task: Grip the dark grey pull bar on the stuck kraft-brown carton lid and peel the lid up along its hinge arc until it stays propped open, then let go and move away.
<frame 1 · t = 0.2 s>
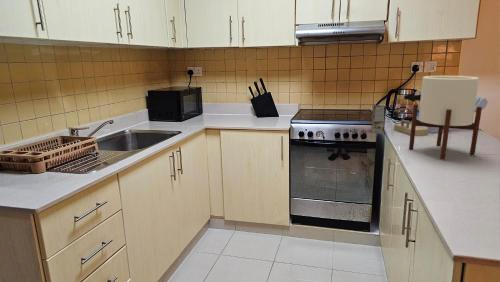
hand: (408, 97, 202), 21 cm above the worktop, tool horizontal, fingers open, 7 cm apart
carton lid: (411, 123, 206), point 5 cm above the worktop, hinge at 0.0°
plant pot with stand: (440, 152, 166), on the worktop
tan tray: (410, 132, 208), on the worktop
coffee box: (377, 132, 210), on the worktop
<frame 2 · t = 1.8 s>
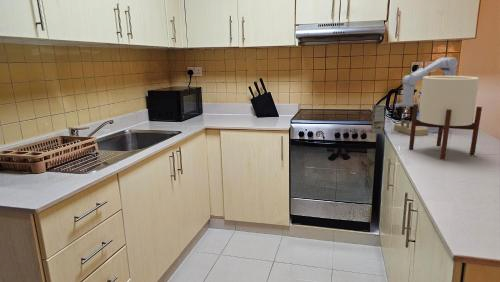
hand: (405, 118, 205), 9 cm above the worktop, tool pointing down, fingers open, 7 cm apart
nothing on the worktop moved.
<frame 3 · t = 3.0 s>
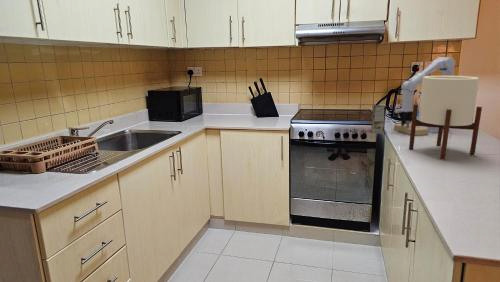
hand: (405, 124, 206), 5 cm above the worktop, tool pointing down, fingers closed on carton lid, 2 cm apart
carton lid: (411, 123, 206), point 5 cm above the worktop, hinge at 0.0°, touching gripper
everything else where it was.
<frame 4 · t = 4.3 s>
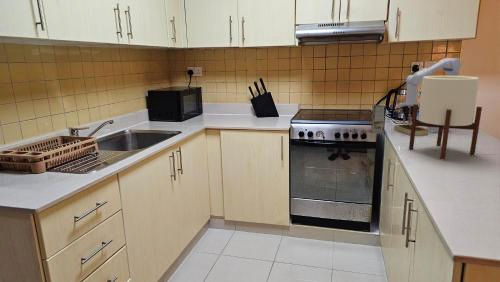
hand: (409, 118, 205), 9 cm above the worktop, tool pointing down, fingers open, 3 cm apart
carton lid: (412, 121, 206), point 7 cm above the worktop, hinge at 16.7°, touching gripper
everything else where it was.
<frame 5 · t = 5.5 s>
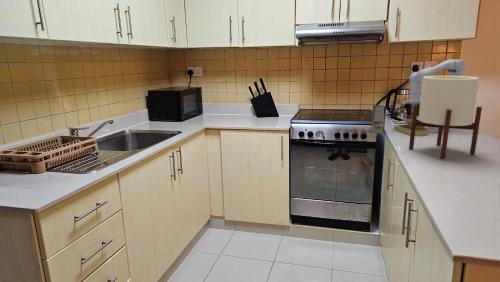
hand: (412, 115, 205), 10 cm above the worktop, tool pointing down, fingers open, 5 cm apart
carton lid: (414, 119, 206), point 8 cm above the worktop, hinge at 30.6°
everything else where it was.
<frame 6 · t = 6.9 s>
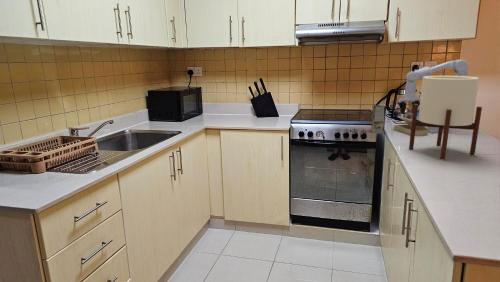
hand: (408, 113, 213), 10 cm above the worktop, tool pointing down, fingers open, 7 cm apart
carton lid: (414, 119, 206), point 8 cm above the worktop, hinge at 31.7°
everything else where it was.
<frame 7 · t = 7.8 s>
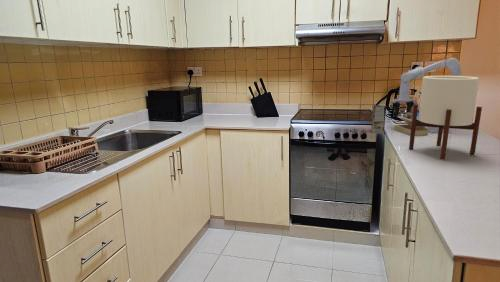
hand: (402, 113, 217), 9 cm above the worktop, tool pointing down, fingers open, 7 cm apart
nothing on the worktop moved.
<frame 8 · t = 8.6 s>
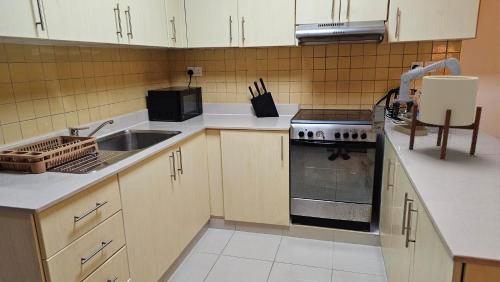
hand: (402, 113, 217), 9 cm above the worktop, tool pointing down, fingers open, 7 cm apart
nothing on the worktop moved.
at the end: carton lid at +32° (first picture: +0°); the gripper is holding nothing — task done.
